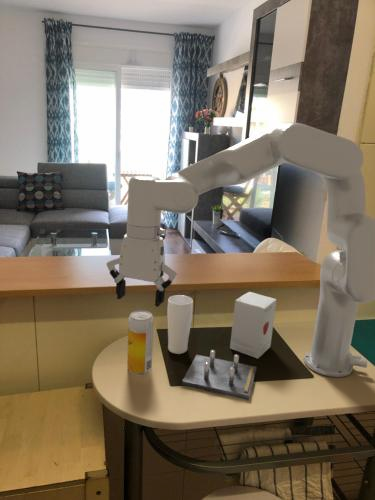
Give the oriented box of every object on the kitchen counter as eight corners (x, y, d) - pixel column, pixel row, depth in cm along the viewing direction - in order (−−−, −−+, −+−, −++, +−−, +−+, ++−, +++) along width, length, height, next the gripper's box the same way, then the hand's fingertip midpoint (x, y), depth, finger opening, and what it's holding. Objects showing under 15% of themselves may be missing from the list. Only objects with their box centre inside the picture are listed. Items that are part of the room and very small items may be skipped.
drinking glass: (193, 347, 117) (197, 298, 113) (183, 358, 111) (186, 306, 107) (172, 341, 120) (174, 292, 116) (160, 352, 114) (163, 301, 110)
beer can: (135, 360, 109) (137, 307, 105) (156, 367, 107) (158, 313, 102) (122, 371, 104) (123, 316, 100) (143, 379, 101) (145, 322, 97)
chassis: (256, 370, 108) (258, 352, 106) (248, 400, 96) (251, 380, 94) (196, 358, 112) (197, 341, 110) (182, 385, 100) (183, 366, 98)
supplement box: (258, 359, 113) (264, 308, 109) (229, 349, 118) (233, 299, 114) (271, 346, 121) (277, 298, 116) (243, 337, 125) (248, 290, 121)
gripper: (184, 233, 97) (178, 301, 101) (115, 223, 101) (113, 289, 105) (174, 240, 90) (169, 313, 94) (101, 229, 94) (99, 300, 99)
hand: (139, 300), depth 100 cm, fingers open, 9 cm apart
